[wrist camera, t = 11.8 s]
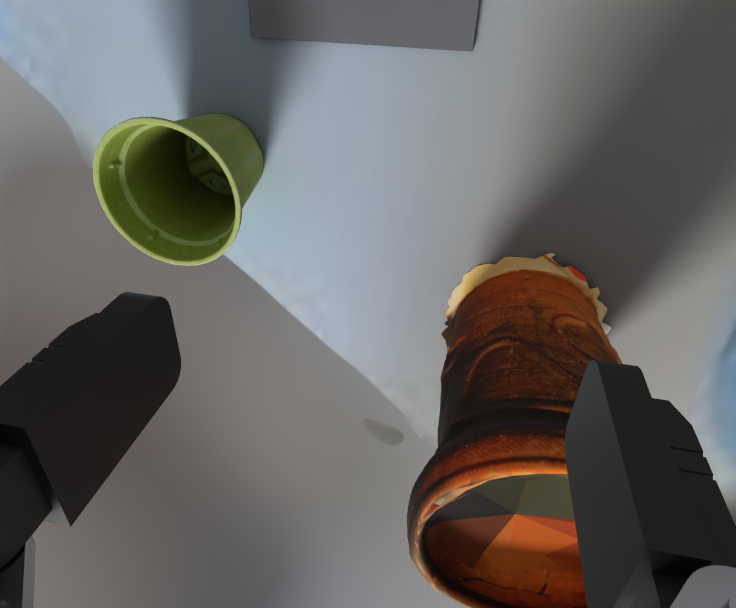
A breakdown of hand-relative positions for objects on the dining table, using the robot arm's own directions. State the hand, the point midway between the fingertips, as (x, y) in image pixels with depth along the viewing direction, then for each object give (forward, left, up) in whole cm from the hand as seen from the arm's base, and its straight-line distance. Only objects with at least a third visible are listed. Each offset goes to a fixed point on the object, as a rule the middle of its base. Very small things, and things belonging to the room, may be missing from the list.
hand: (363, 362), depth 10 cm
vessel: (-8, +18, -28) cm, 34 cm away
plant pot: (+16, +6, -28) cm, 33 cm away
